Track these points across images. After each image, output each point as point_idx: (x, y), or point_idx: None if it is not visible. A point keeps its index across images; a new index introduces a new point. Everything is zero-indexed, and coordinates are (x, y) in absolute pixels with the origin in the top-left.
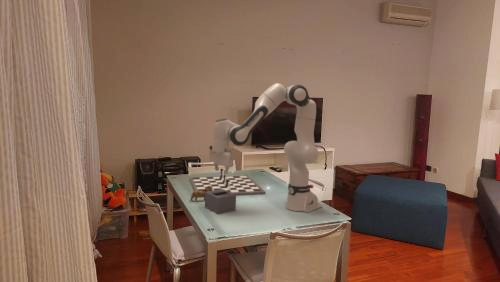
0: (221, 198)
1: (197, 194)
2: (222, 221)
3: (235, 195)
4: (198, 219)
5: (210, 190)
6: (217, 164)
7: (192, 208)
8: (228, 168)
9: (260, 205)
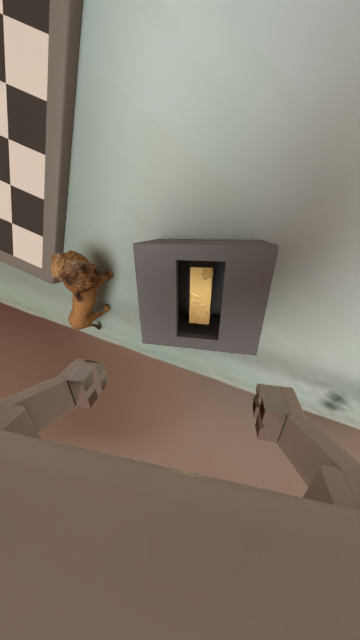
0: (258, 335)
1: (91, 318)
2: (314, 348)
3: (277, 250)
4: (246, 384)
5: (84, 270)
6: (26, 401)
7: (156, 349)
8: (354, 469)
9: (300, 33)
